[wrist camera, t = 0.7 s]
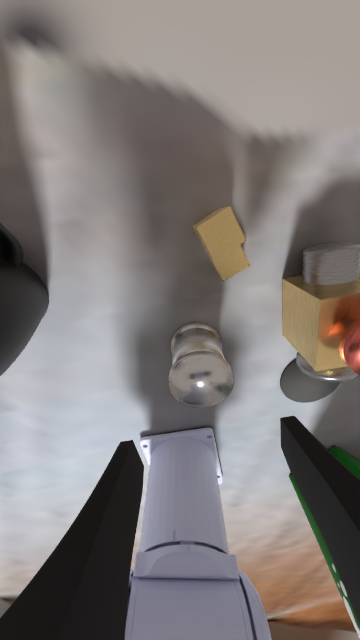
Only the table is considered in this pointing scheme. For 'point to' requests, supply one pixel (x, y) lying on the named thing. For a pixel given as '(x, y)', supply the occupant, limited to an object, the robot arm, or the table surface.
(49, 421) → the table surface
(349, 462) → the milk carton
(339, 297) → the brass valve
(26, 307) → the mug
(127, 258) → the table surface
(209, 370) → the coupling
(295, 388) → the pad
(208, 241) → the elbow
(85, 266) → the table surface
